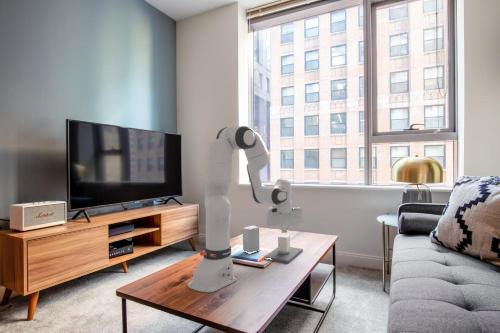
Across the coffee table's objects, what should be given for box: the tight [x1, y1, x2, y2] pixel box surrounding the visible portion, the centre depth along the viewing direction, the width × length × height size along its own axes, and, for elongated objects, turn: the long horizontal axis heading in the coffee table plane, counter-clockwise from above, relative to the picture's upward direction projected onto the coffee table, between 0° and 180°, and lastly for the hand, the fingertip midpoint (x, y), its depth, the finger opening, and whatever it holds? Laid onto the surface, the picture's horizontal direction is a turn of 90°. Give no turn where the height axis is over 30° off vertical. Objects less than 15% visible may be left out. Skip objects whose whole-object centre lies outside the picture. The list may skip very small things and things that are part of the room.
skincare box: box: [242, 225, 260, 252], centre depth 169 cm, size 8×6×15 cm
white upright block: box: [277, 234, 291, 252], centre depth 163 cm, size 5×5×8 cm
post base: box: [263, 246, 304, 264], centre depth 163 cm, size 22×14×10 cm, turn 150°
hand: (284, 232), depth 162 cm, fingers closed
